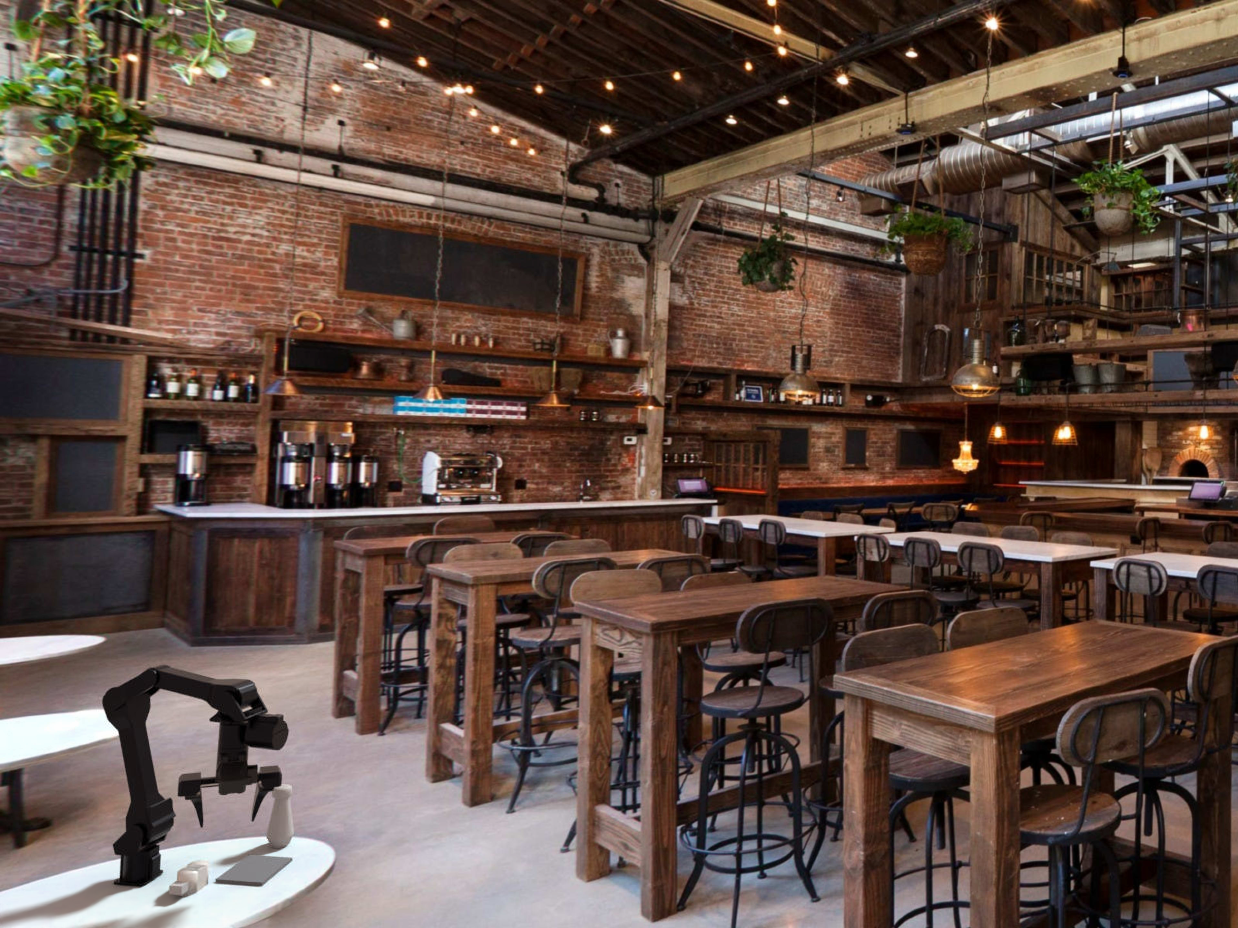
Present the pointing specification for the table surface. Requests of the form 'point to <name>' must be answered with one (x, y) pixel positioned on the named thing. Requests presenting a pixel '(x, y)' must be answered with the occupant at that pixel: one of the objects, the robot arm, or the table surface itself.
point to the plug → (191, 878)
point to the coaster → (254, 870)
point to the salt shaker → (281, 818)
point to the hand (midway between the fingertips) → (227, 823)
